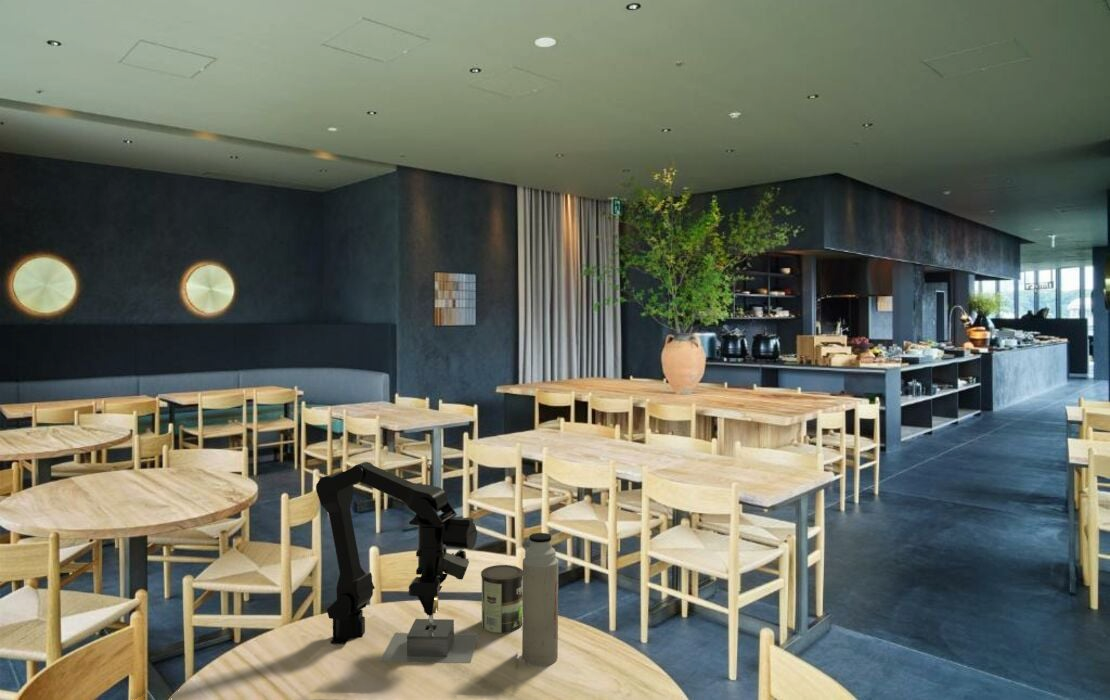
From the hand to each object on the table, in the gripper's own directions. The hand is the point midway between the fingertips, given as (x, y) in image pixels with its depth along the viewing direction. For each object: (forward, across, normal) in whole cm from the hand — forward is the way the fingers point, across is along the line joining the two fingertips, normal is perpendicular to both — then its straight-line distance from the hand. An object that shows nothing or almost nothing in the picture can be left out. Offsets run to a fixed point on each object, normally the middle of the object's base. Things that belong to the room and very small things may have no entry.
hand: (430, 611), depth 163 cm
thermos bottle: (+10, -2, -25) cm, 27 cm away
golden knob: (+5, 0, 0) cm, 5 cm away
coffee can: (+10, +13, -15) cm, 22 cm away
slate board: (+9, 0, 0) cm, 9 cm away
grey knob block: (+8, 0, 0) cm, 8 cm away
